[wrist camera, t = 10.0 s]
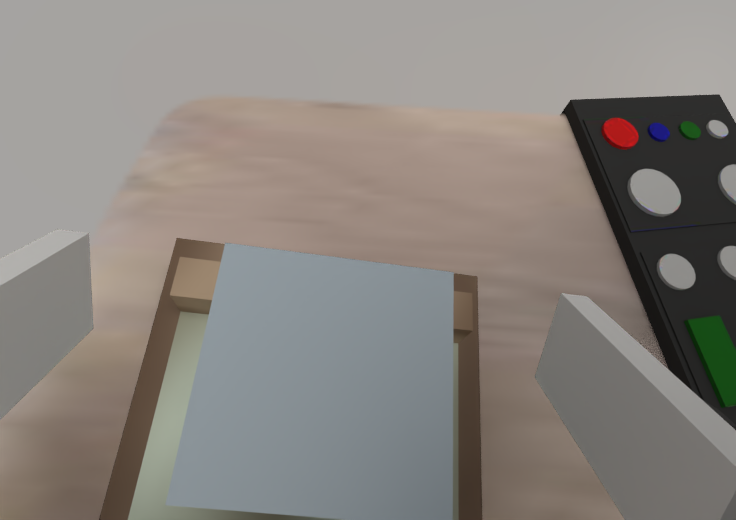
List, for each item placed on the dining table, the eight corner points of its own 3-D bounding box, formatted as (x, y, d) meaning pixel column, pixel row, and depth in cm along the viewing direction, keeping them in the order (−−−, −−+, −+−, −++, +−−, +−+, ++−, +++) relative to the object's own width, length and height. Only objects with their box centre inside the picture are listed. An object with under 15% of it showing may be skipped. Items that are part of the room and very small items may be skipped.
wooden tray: (453, 303, 25) (495, 255, 19) (452, 643, 19) (513, 705, 14) (193, 271, 24) (164, 211, 18) (104, 623, 18) (23, 683, 12)
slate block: (377, 372, 19) (453, 272, 10) (368, 503, 17) (452, 528, 8) (259, 360, 18) (225, 242, 9) (236, 491, 16) (164, 505, 7)
